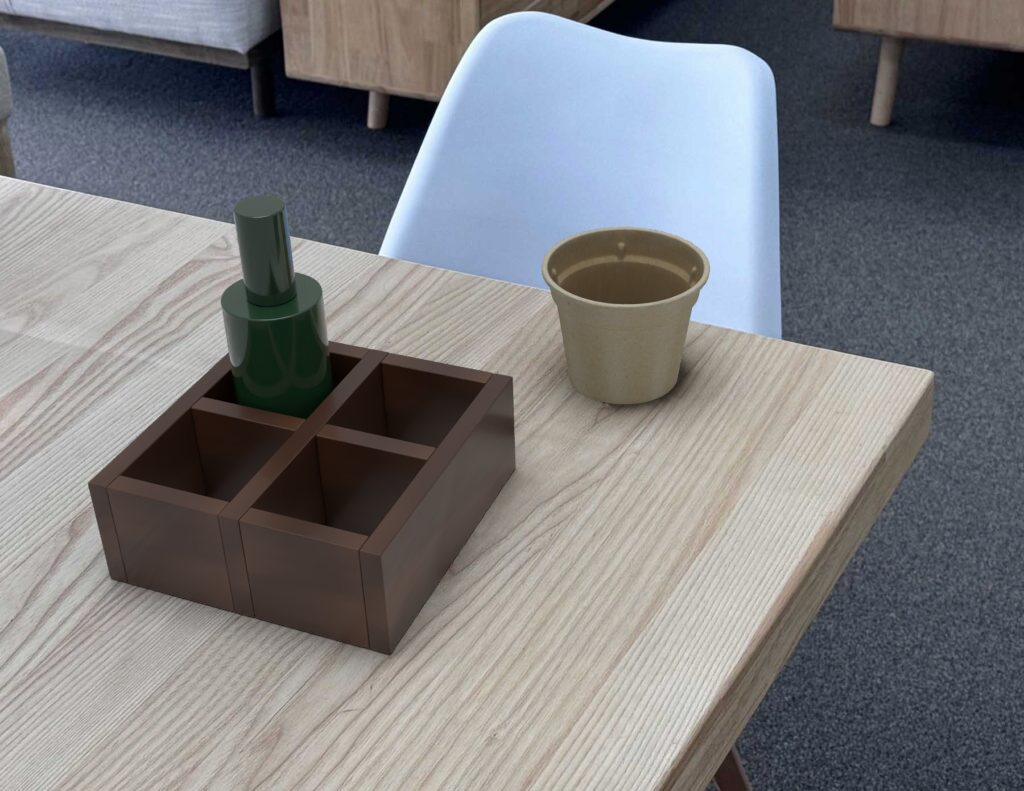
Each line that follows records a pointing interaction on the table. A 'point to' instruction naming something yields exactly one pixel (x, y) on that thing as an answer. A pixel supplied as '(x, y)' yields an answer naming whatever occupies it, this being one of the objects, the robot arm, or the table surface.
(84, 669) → the table surface
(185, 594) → the box
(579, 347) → the flower pot
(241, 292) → the bottle
